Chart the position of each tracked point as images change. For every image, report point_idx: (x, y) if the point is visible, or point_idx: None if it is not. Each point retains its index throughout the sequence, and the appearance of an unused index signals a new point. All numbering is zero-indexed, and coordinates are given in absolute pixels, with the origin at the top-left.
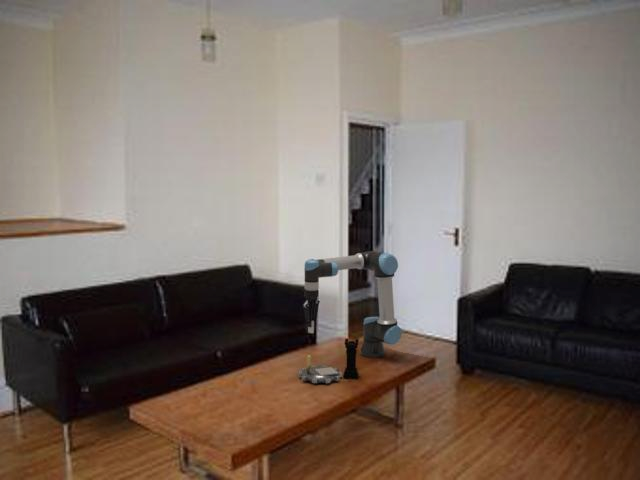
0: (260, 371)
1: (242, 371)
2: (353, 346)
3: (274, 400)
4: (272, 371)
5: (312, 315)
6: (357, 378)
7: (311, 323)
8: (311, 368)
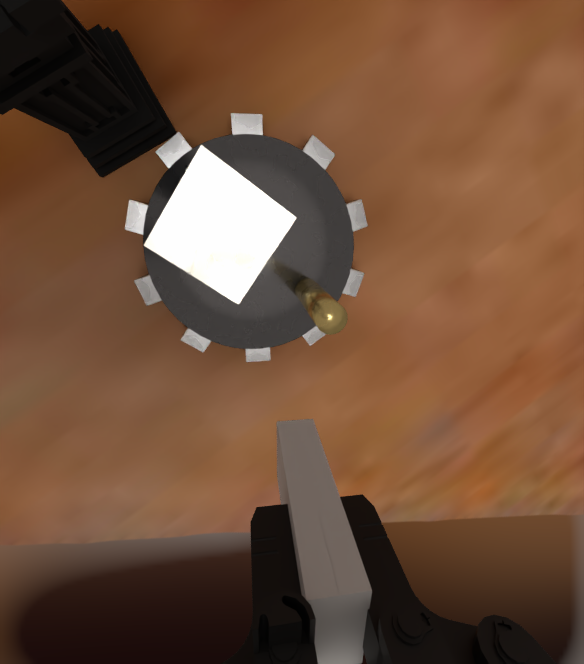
0: None
1: None
2: None
3: (571, 251)
4: None
5: None
6: (120, 35)
7: (351, 555)
8: (231, 327)
